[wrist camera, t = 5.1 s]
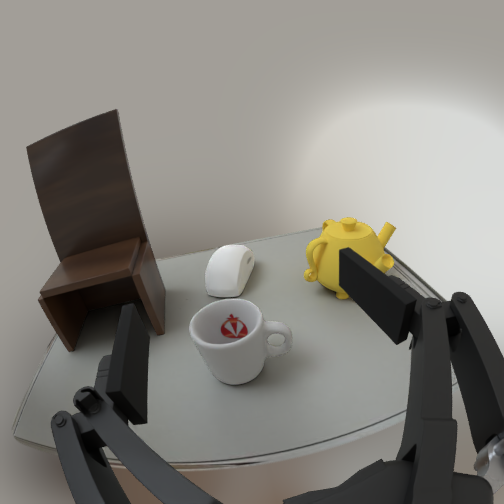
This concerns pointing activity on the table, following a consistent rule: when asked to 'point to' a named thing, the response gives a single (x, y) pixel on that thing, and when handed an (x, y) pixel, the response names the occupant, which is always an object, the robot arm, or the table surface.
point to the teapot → (342, 236)
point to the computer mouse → (229, 271)
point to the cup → (236, 339)
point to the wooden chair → (93, 226)
